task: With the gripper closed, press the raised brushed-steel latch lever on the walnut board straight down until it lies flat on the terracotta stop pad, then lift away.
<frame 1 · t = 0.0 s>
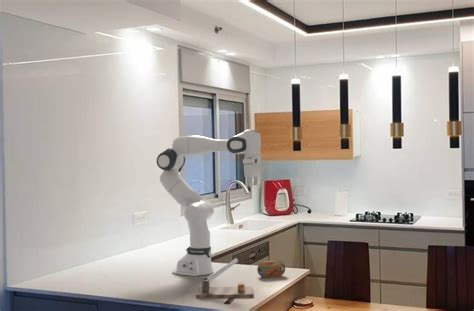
hand: (253, 185, 286), 48 cm above the worktop, tool pointing down, fingers open, 8 cm apart
tin: (271, 277, 284), on the worktop
latch lever: (220, 271, 251), point 11 cm above the worktop, hinge at 35.0°
latch base: (225, 293, 251), on the worktop
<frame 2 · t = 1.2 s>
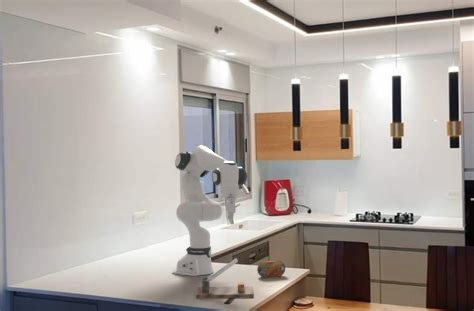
hand: (230, 220, 272), 31 cm above the worktop, tool pointing down, fingers open, 8 cm apart
nothing on the worktop moved.
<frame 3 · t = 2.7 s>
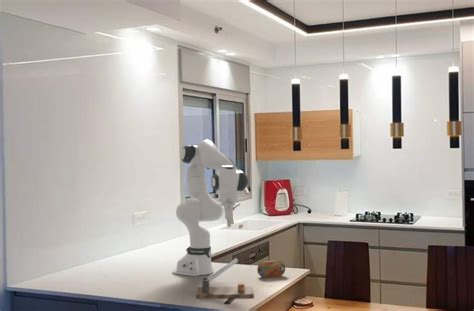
hand: (229, 226, 263), 30 cm above the worktop, tool pointing down, fingers closed
nothing on the worktop moved.
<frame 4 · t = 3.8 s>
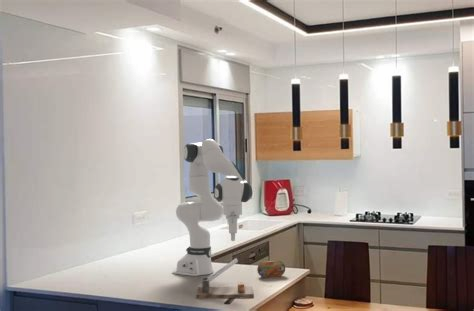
hand: (233, 240, 251), 25 cm above the worktop, tool pointing down, fingers closed
nothing on the worktop moved.
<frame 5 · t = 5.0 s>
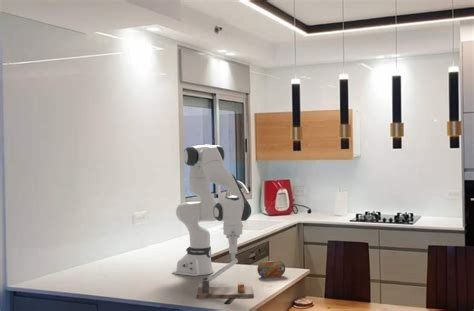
hand: (233, 259, 251), 16 cm above the worktop, tool pointing down, fingers closed, pressing on latch lever
latch lever: (220, 271, 251), point 10 cm above the worktop, hinge at 34.7°, touching gripper
everything else where it was.
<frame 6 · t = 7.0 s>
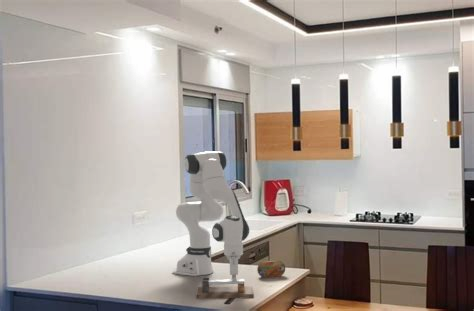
hand: (234, 280, 251), 6 cm above the worktop, tool pointing down, fingers closed, pressing on latch lever
latch lever: (224, 281, 251), point 6 cm above the worktop, hinge at 0.7°, touching gripper
everything else where it was.
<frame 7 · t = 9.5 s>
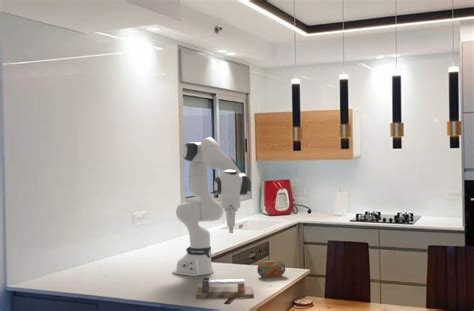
hand: (231, 232, 258), 28 cm above the worktop, tool pointing down, fingers closed
latch lever: (224, 281, 251), point 6 cm above the worktop, hinge at 0.7°
everything else where it was.
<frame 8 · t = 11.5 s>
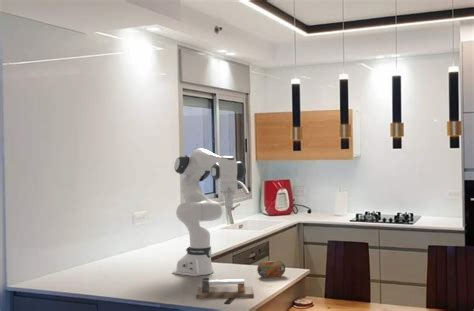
hand: (229, 214, 274), 34 cm above the worktop, tool pointing down, fingers closed
nothing on the worktop moved.
at the end: latch lever at +1° (first picture: +35°); the gripper is holding nothing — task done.
